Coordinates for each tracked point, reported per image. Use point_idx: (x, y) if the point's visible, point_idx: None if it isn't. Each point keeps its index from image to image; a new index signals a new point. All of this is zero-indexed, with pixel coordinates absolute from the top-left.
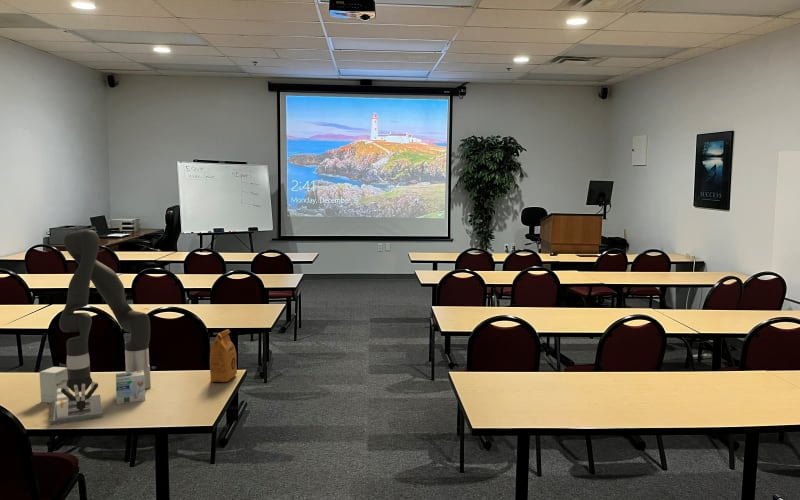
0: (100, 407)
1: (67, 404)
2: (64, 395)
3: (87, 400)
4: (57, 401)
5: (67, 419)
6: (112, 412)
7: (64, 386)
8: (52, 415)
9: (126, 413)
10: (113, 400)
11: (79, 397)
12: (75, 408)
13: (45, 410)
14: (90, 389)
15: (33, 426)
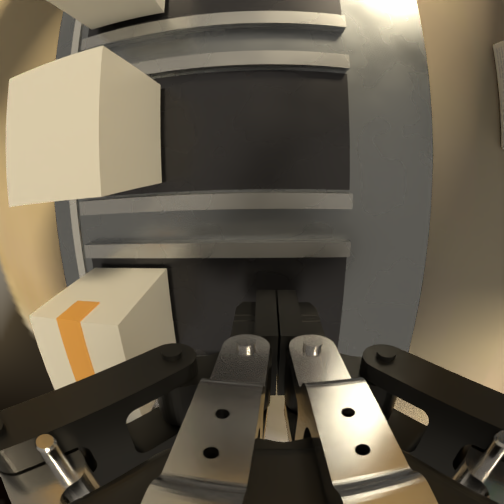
0: (420, 240)
1: (142, 348)
2: (66, 125)
3: (327, 25)
4: (37, 325)
5: None
6: (458, 292)
7: (10, 498)
8: (70, 253)
9: (497, 337)
10: (477, 53)
11: (265, 425)
12: (222, 204)
13: (45, 51)
14: (442, 414)
15: (25, 308)
